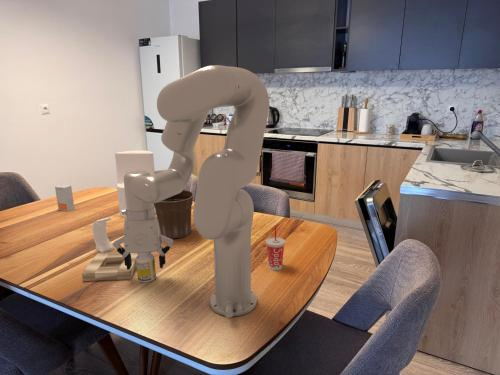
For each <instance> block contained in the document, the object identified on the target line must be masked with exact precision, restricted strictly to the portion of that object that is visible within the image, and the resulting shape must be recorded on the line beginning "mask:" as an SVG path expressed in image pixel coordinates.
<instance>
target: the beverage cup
mask: <svg viewBox="0 0 500 375" xmlns="http://www.w3.org/2000/svg"><path fill="white" fill-rule="evenodd" d="M265 244H266V256H267V267H268V269H269V270H272V271H279V270H282V268H283V261H284V251H285V244H286V240H285V239H284V238H282V237H277V226H276V225H274V237H269V238H267V239H266V240H265Z"/></svg>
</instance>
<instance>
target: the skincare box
mask: <svg viewBox="0 0 500 375" xmlns="http://www.w3.org/2000/svg"><path fill="white" fill-rule="evenodd" d="M54 189H55V196H56V201H57V209H58V211H63V212H70V211H73V210H75V202H74V196H73V195H74V194H73V188H72V185H68V184H59V185H56V186H55V187H54Z"/></svg>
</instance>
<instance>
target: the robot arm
mask: <svg viewBox="0 0 500 375" xmlns="http://www.w3.org/2000/svg"><path fill="white" fill-rule="evenodd" d="M268 92H269V91H268V90H267V87H266V86H265V84H264V82H263V81H262V79H261V78H260V77H258V76H257V75H256V74H255V73H254V72H252V71H250V70H248V69H246V68H242V67H237V66H226V65H221V64H220V65H219V64H216V65H212V64H211V65H207V66H204V67H201V68H199V69H197V70H195V71H193V72H190V73H188V74H186V75H183V76H182V77H180V78H178V79H176V80H173V81H172V82H170V83H167V84H166V85H165V86H164V87H162V89H161V90H160V91H159V93H158V95H157V98H156V109H157V112H158V114H159V116H160V117H161V118H162V120H164V121H166V123H165V125H164V128H163V130H162V133H161V140H160V141H161V142H162V144H163V145H164V147H166V149H168V150H170V151H171V152H173V154H172V158H171V161H170V164H169V166H168V169H166V170H162V171H159V172H157V173H155V174H153V175H151V174H150V173H149V172H147V171H143V170H136V171H130V172H127V173H126V174H125V175H124V189H125V198H126V208H127V209H126V210H122V215H126V216H127V217H125V219H124V223H123V236H122V237H120V238H118V239H117V240H115V241H114V242H113V243H112V246H114V249H116V251H117V252H119V253H120V254H121V255H122V257H124V261H125V266H127V270H129V269H130V268H131V266H132V260H131V254H130V253H145V252H151V253H155V252H157V253H158V255H159V256H158V262H159V268H160V269H163V268H164V265H166V254H167V253H168V252H169V251H170V250H171V247H172V245H173V243H174V239H170V238H168V237H166V236H163V235H161V232H160V227H159V222H158V219H157V214H155V213H154V203H158V202H160V201H163V200H165V199H167V198H169V197H172V196H174V195H177V194H179V193H180V192H182V191H183V190H185V188H186V187H187V185H188V183H189V181H190V179H191V177H192V174H193V173H194V170H195V169H194V168H195V154H194V147H195V145H196V143H197V140H198V138H199V136H200V134H201V131H202V129H203V127H204V124H205V122H206V119H207V118H208V116H209V113H210V111H211V110H214V109H217V108H225V107H226V108H227V107H228V108H229V107H234V111H233V115H232V117H231V118H230V121H229V124H228V126H227V130H226V131H227V132H226V138H225V143H224V147H223V149H222V150H221V151H218V152H215V153H212V154H211V155H209V156H208V157H207V158H205V160H204V161H203V163H202V164H201V166H200V169H199V172H198V175H197V176H198V177H197V181H196V182H197V183H196V189H195V190H196V191H195V194H194V204H193V209H192V210H193V211H192V221H193V225H194V227H195V229H196V231H197V232H198V234H199V235H200V236H201V237H202V238H205V239H207V240H212V241H213V263H214V264H213V266H214V267H213V268H214V269H213V270H214V287H215V288H214V290H215V291H214V292H213V293H212V295H210V297H209V305H210V308H211V309H212V310H213V312H215V313H216V314H219V315H222V316H224V317H226V318H227V319H229V318H232V317H239V316H244V315H246V314H249V313H251V312H252V311H253V310H254V309H255V308H256V306H257V303H258V297H257V295H256V293H255V292H254V291H252V256H251V255H252V228H253V227H252V226H253V220H254V212H255V211H254V209H255V208H254V201H253V198H252V197H251V195H250V193H248V192H247V190H245V189H243V188H245V187H247V186H248V185H249V184H251V183H252V182H253V181H254V180H255V178H256V176H257V173H258V172H257V171H258V168H259V162H260V157H261V153H262V148H263V143H264V136H265V133H266V132H265V131H266V127H267V123H268V119H269V114H270V113H269V112H270V97H269V96H270V95H269V93H268ZM162 242H164V243H166V246H165V247H164V246H163V245H162ZM121 244H123V246H122V245H121Z"/></svg>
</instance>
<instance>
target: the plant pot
mask: <svg viewBox="0 0 500 375" xmlns="http://www.w3.org/2000/svg"><path fill="white" fill-rule="evenodd" d="M194 197H195V194H194V192H193V191H190V190H187V189H186V190H185V189H184V190H183V191H182V192H180V193H179V194H177V195H174V196H172V197H169V198H167V199H165V200H163V201H160V202H158V203H154V207H155V209H156V213H155V215H156V216H157V219H158V222H159V227H160V232H161V235H163V236H166V237H168V238H170V239H173V240H175V239H176V238H177V239H183V238H185V237H187V236H189V235H190V234H191V232H192V206H193V199H194Z"/></svg>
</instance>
